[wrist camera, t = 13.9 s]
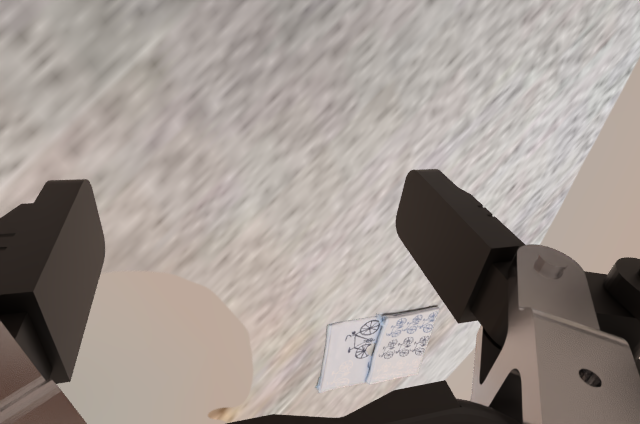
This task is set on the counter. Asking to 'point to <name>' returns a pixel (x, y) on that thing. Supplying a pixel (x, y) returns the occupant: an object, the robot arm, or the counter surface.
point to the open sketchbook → (390, 348)
